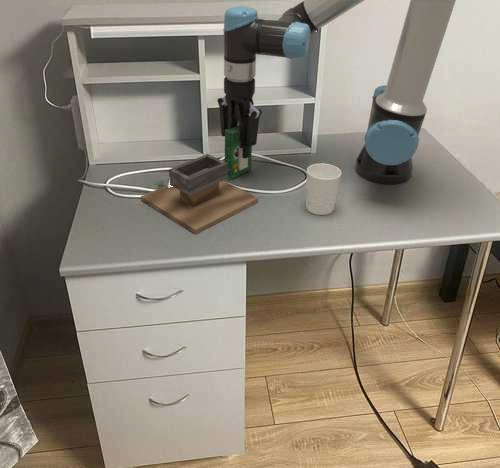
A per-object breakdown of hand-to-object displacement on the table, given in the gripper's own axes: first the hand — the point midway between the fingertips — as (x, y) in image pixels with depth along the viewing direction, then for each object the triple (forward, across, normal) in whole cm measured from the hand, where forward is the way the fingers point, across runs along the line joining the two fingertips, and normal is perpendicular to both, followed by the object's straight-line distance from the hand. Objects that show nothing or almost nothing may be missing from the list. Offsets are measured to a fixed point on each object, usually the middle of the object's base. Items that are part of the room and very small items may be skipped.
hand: (238, 165), depth 139 cm
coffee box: (+3, 0, 0) cm, 3 cm away
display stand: (+2, +4, -17) cm, 18 cm away
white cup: (+3, +26, +2) cm, 26 cm away
